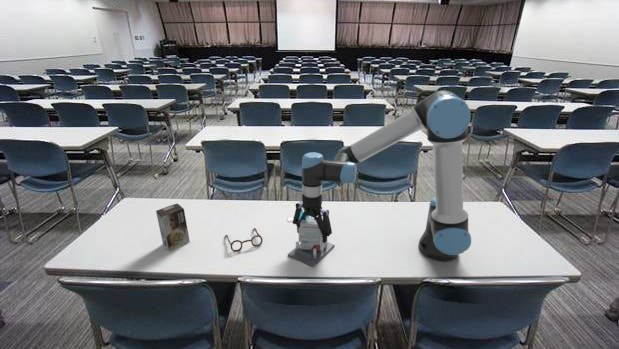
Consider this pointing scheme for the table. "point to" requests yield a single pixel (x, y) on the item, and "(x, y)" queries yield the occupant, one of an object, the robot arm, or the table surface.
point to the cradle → (309, 254)
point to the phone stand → (299, 217)
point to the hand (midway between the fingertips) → (311, 244)
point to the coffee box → (173, 226)
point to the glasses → (245, 241)
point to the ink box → (309, 234)
